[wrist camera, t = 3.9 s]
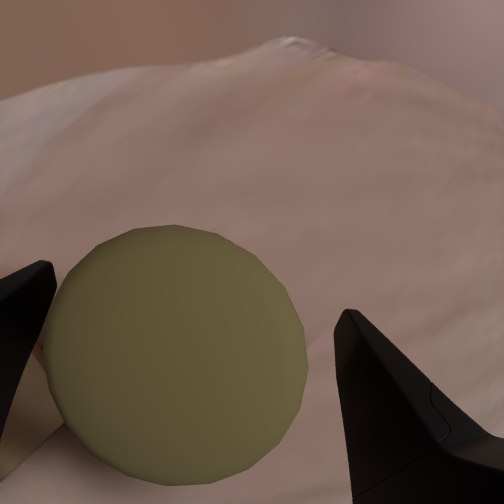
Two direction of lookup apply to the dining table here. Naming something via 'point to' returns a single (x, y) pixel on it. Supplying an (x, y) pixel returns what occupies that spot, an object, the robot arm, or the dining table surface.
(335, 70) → the dining table surface
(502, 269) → the dining table surface
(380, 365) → the robot arm
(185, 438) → the cork
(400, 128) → the dining table surface
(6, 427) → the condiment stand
